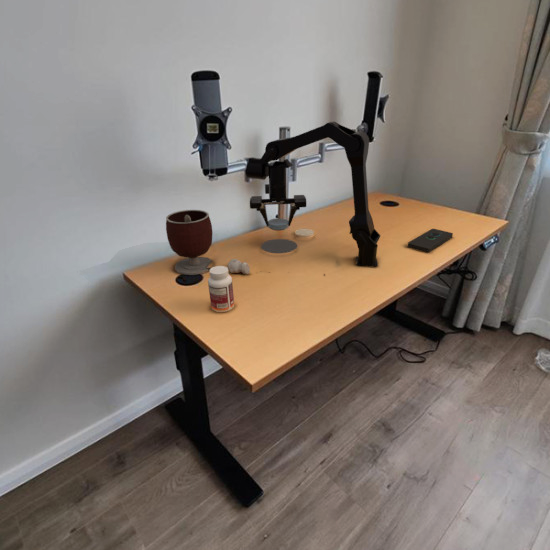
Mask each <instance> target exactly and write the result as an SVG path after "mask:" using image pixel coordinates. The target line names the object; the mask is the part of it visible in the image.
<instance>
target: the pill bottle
mask: <svg viewBox="0 0 550 550" xmlns="http://www.w3.org/2000/svg"><path fill="white" fill-rule="evenodd" d="M210 268H211V269H210V270H209V278H208V279H207V285H208V292H209V300H210V307H211V309H212V311H214V312H217V313H227V312H229V311H231V310H232V309H233V308H234V307H235V295H234V294H235V293H234V285H233V278H232V276H231V274H229V270H228V268H227V266H225V265H216V266H212V267H210Z"/></svg>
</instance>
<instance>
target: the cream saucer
mask: <svg viewBox="0 0 550 550" xmlns="http://www.w3.org/2000/svg"><path fill="white" fill-rule="evenodd" d="M294 236H295V237H297V238H299V239H310V238H312V237H314V236H315V231H314V230H312V229H310V228H299V229H297V230H295V231H294Z"/></svg>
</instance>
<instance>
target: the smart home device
mask: <svg viewBox="0 0 550 550" xmlns="http://www.w3.org/2000/svg"><path fill="white" fill-rule="evenodd" d="M453 235H454V234H453V232H450V231H445V230H441V229H437V228H431V229H429V230H427V231H425V232H424V233H422V234H420V235H418V236H416V237H415V238H413V239H412V240H410V241H408V242H407V248H408V249H412V250H416V251H419V252H423V253H427V254H428V253H429V254H430V253H431V252H433V251H434V250H436V249H437V248H439V247H440V246H442V245H443V244H445V243H446V242H448V241H450V240H452V238H453Z"/></svg>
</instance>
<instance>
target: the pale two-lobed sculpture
mask: <svg viewBox="0 0 550 550" xmlns="http://www.w3.org/2000/svg"><path fill="white" fill-rule="evenodd" d="M226 267H227V268H228V272H230V273H237V274H238V273H242V274H243V275H248V274H250V272H251V267H250V265H249V263H248V262H247V261H244V262H241V261H240V260H239V259H237V258H233V259H230V260H229V261H228V263H227V266H226Z"/></svg>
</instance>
